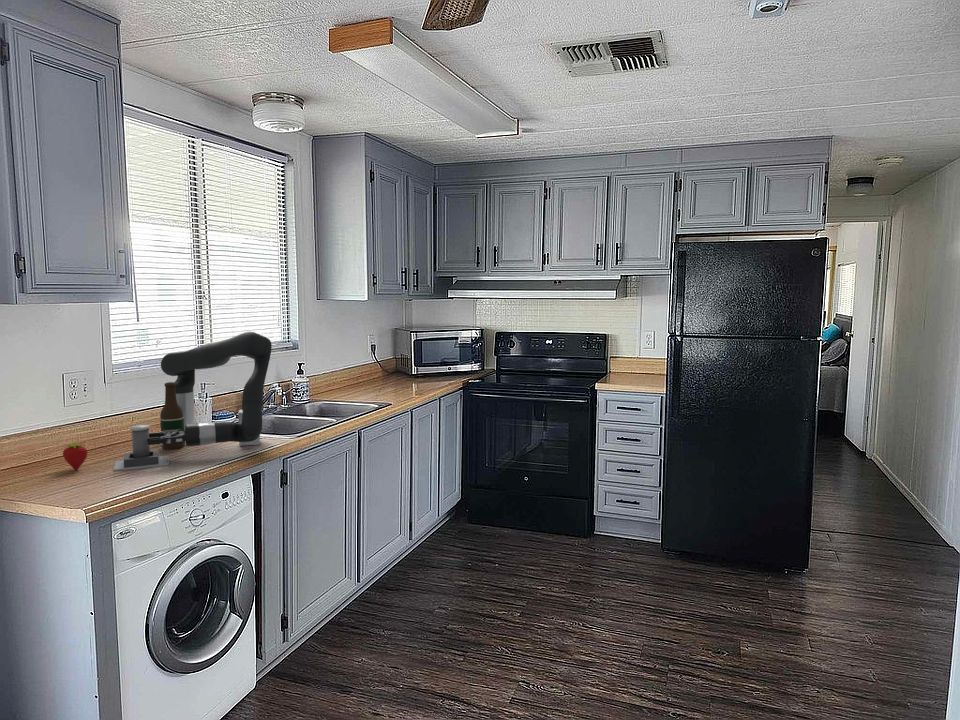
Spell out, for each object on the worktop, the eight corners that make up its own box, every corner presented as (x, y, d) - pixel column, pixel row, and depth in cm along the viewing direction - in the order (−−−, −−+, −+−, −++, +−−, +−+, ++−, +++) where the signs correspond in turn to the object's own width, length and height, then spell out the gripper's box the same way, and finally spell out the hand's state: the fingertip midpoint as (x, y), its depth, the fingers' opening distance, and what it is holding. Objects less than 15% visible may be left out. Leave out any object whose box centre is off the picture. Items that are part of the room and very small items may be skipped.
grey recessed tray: (115, 463, 227) (115, 453, 226) (168, 457, 233) (167, 448, 233) (113, 471, 216) (112, 461, 215) (168, 465, 222) (168, 456, 222)
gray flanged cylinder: (132, 461, 226) (130, 425, 225) (151, 459, 228) (149, 424, 227) (131, 465, 221) (129, 428, 220) (151, 463, 223) (149, 427, 222)
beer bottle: (173, 450, 244) (170, 384, 242) (157, 448, 247) (153, 383, 244) (189, 445, 251) (186, 381, 249) (173, 444, 254) (169, 380, 252)
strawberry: (73, 466, 222) (71, 436, 221) (93, 467, 221) (91, 437, 220) (59, 471, 217) (56, 440, 216) (79, 472, 215) (77, 441, 214)
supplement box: (238, 446, 249) (237, 412, 248) (240, 442, 256) (238, 409, 255) (259, 445, 251) (258, 411, 250) (260, 440, 258) (259, 408, 257)
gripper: (198, 420, 237) (147, 424, 231) (200, 427, 225) (146, 431, 218) (200, 441, 238) (148, 446, 231) (202, 449, 225) (147, 454, 219)
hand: (147, 439), depth 225 cm, fingers open, 8 cm apart
